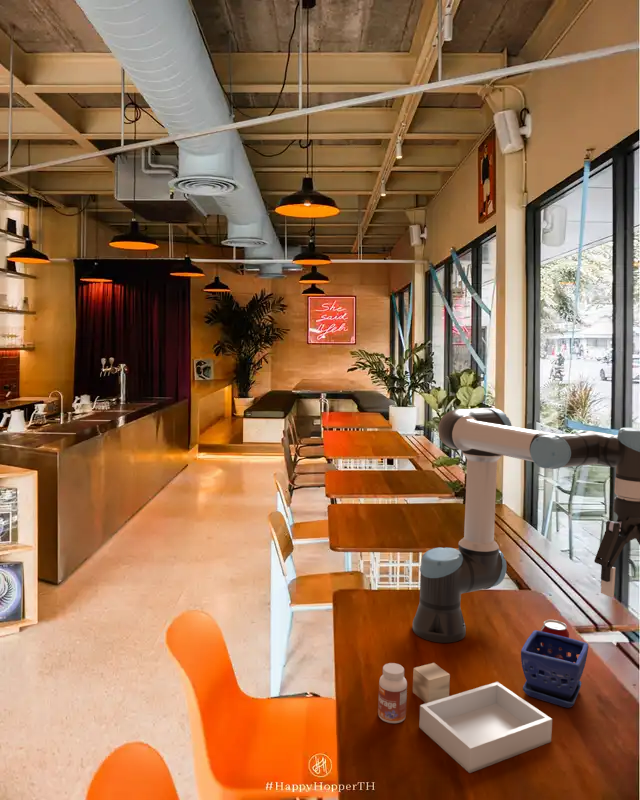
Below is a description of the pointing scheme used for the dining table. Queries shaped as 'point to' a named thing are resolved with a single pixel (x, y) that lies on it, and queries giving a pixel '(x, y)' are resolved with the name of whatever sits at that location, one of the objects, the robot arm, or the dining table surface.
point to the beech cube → (430, 682)
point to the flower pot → (553, 668)
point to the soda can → (555, 632)
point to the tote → (484, 725)
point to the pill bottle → (392, 694)
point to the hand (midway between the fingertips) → (627, 590)
